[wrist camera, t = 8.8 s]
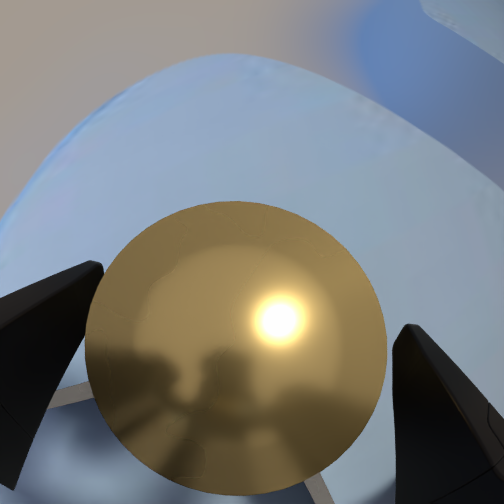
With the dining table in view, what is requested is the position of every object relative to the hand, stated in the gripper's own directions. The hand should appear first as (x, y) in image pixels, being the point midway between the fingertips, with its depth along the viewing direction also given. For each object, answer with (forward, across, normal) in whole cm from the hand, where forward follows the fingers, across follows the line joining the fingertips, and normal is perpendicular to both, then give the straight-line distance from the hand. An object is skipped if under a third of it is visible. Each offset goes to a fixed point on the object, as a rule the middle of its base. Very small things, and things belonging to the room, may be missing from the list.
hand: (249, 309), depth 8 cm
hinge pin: (+5, 0, +6) cm, 8 cm away
